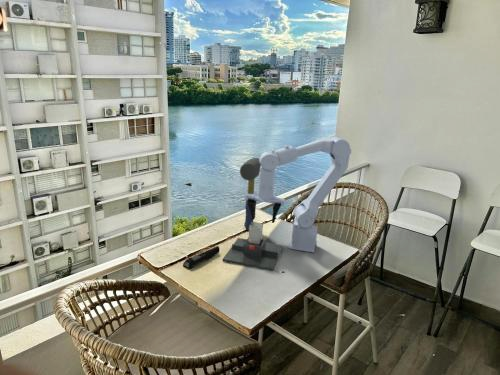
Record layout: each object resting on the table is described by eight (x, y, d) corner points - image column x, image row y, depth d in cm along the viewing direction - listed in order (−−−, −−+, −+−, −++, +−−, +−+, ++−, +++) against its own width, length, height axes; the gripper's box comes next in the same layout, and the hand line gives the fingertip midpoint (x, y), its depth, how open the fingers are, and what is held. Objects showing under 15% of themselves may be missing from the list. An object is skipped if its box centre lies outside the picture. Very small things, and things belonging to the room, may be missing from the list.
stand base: (283, 247, 136) (284, 235, 135) (273, 271, 120) (274, 257, 118) (238, 240, 141) (238, 228, 139) (222, 261, 124) (222, 248, 123)
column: (261, 243, 131) (263, 223, 128) (258, 248, 127) (260, 227, 124) (251, 242, 131) (252, 221, 129) (248, 246, 128) (249, 226, 125)
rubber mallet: (244, 222, 158) (248, 155, 149) (261, 224, 156) (265, 157, 147) (235, 233, 147) (238, 161, 138) (253, 236, 145) (257, 163, 136)
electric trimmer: (222, 255, 129) (222, 247, 128) (189, 270, 118) (189, 262, 117) (214, 251, 132) (214, 244, 131) (181, 266, 120) (182, 258, 119)
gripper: (243, 185, 128) (241, 220, 132) (283, 191, 125) (280, 227, 129) (249, 180, 135) (246, 214, 139) (287, 186, 131) (283, 220, 135)
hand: (263, 220), depth 134 cm, fingers open, 7 cm apart
